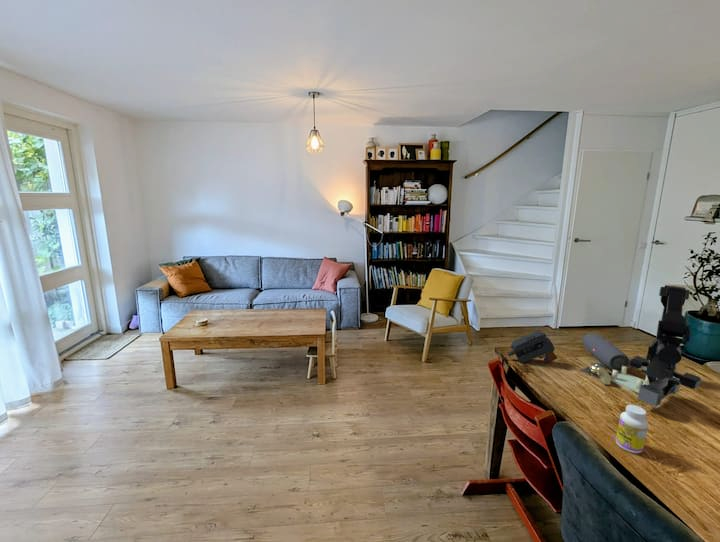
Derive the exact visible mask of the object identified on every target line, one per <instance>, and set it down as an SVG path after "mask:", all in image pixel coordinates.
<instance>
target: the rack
mask: <svg viewBox="0 0 720 542" xmlns="http://www.w3.org/2000/svg"><path fill="white" fill-rule="evenodd" d="M627 371H628V369H627V366H625V365H622V368H621V372H618V371H617V370H612V372H611V373H612V376H611V380H610V383H611V382H612V383H614V384H616V385H618V386H621V387H623V388H625V389H628V390H630V391H633V392H636V393H638V394H639V390H640V387H641V386H642V385H644V384H646V385H649V380H648V377H647V375H646V374H645V379H642V378H640V377H637V376H634V375H633V374H629V373H627Z"/></svg>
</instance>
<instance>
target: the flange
mask: <svg viewBox="0 0 720 542" xmlns="http://www.w3.org/2000/svg"><path fill="white" fill-rule="evenodd" d="M580 371H581V372H582V371H583V372H582V373H584V372H585V374H586V373H587V374H586V375H589V376H592V377H593V378H597V379H599V380H601V379H600V378H599V377H598V375H597V374H594V373H592V372H590V371H589V366H587V367H585V368H583V369H580ZM607 372H608V374H609V375H610V376H611V377H612V373H613V372H610V371H607Z"/></svg>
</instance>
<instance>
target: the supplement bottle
mask: <svg viewBox="0 0 720 542" xmlns="http://www.w3.org/2000/svg"><path fill="white" fill-rule="evenodd" d="M646 416H647V411H646V410H645V408H642V407H640V406H638V405H635V404H627V405H626V407H625V411H623V412H621V413H620V417H619V421H618V425H617V430H616V434H615V443H616V444H617V445H618V446H619V447H620V448H621V449H623V450H624V451H626V452H629V453H631V454H640V453H642V452H643V451H644V447H645V442H646V439H647V434H648V430H649V422H648V419H646Z"/></svg>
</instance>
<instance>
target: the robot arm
mask: <svg viewBox="0 0 720 542" xmlns="http://www.w3.org/2000/svg"><path fill="white" fill-rule="evenodd" d="M690 293H691V290H690V289H686V287H683V286H682V287H681V286H676V285H675V286H674V285H667V284H665V285H664V286H661V287H660V289H659V293H658V296H659V297H660V302H661V305H662V306H663V308H662V309H663V310H662V314H661V319H660V320H658V323H657V330H656V335H655V336H656V338H655V339H654V340H652V341H651V343H650V345H649V346H648V347H647V351H646V355H645V358H644V357H642V356H639V355H637V356H634V357H633V358H631V359H630V362H629V365H630V366H629V367H632V368H635V369H637V370H638V369H641V368H642V369H641V373H643V374H644V375H645V376H646V375H647V377H648V380H649V384H650V383H652V382H654V381H655V380H657V379H660V380H663V379H664V378H670V380H668V384H667V387H666V390H665V394H664V395H665V396H666V395H667V394H668V393H669V392H670V391H671V390H672V388H673V387H674V386H675V385H680V386H684V387H687V388H690V389H693V390H696V389H697V388H698V387H700V385H702V378H701V377H700V376H698V375H695V374H692V373H690V372H686V373H684V374H682V373H679V372H676V370H677V364H679V363H680V362H681V361H682V357H683V355H682V351H681V345H685V346H686V345H687V344H688V343H689V341H690V339H691V338H690V337H691V336H690V335H691V328H690V326H689V324H687V318H686V317H685V316H684V315H683V306H684V305H685V303H686V300H687V301H688V300H689V298H690ZM666 397H667V396H666Z"/></svg>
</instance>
